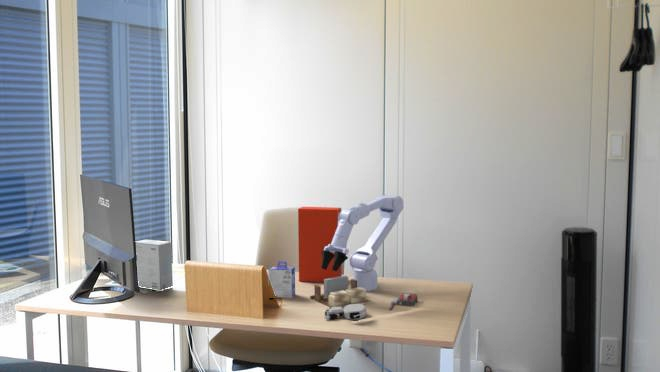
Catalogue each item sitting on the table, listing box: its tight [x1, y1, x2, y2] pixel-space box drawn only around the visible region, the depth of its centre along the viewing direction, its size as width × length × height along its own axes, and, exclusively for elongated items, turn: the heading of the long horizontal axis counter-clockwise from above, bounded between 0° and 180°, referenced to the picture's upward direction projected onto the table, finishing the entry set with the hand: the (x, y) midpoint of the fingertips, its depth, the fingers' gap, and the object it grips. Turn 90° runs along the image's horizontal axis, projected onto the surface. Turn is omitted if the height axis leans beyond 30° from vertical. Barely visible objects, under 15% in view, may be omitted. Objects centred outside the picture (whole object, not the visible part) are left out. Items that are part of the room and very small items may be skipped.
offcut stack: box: [328, 287, 367, 307], centre depth 274 cm, size 15×4×4 cm, turn 122°
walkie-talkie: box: [388, 292, 418, 311], centre depth 272 cm, size 9×4×20 cm
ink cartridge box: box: [268, 260, 296, 299], centre depth 284 cm, size 10×6×14 cm, turn 78°
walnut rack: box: [309, 278, 372, 308], centre depth 278 cm, size 18×16×7 cm
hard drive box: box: [135, 239, 174, 290], centre depth 301 cm, size 16×8×20 cm, turn 58°
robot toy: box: [324, 302, 367, 322], centre depth 257 cm, size 12×4×15 cm
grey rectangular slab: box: [323, 275, 349, 297], centre depth 280 cm, size 10×2×8 cm, turn 122°
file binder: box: [297, 206, 343, 283], centre depth 311 cm, size 8×17×32 cm, turn 76°
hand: (328, 269), depth 279 cm, fingers open, 7 cm apart
